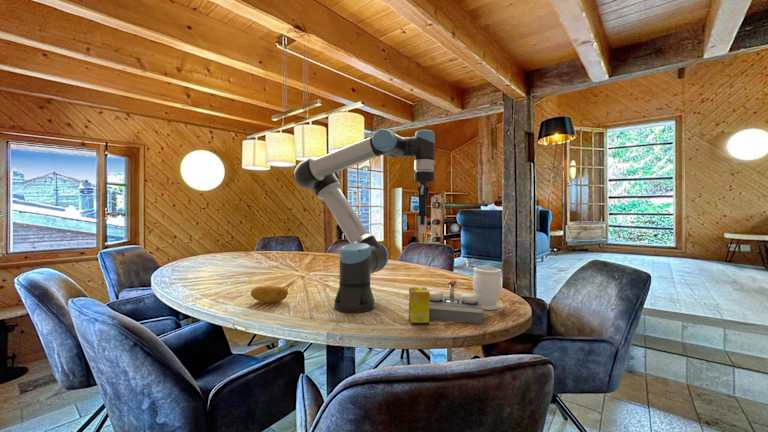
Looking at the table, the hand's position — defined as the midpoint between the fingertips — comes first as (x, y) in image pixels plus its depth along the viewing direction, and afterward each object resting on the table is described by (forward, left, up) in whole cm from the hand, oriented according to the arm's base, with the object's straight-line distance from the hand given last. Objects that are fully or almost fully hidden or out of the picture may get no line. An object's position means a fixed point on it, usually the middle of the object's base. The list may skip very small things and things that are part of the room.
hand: (422, 233), depth 127 cm
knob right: (+18, -8, -28) cm, 34 cm away
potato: (-57, -12, -28) cm, 65 cm away
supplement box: (+1, -18, -28) cm, 34 cm away
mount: (+12, -8, -28) cm, 32 cm away
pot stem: (+12, -8, -28) cm, 32 cm away
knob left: (+6, -8, -28) cm, 29 cm away
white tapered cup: (+25, +5, -28) cm, 38 cm away
